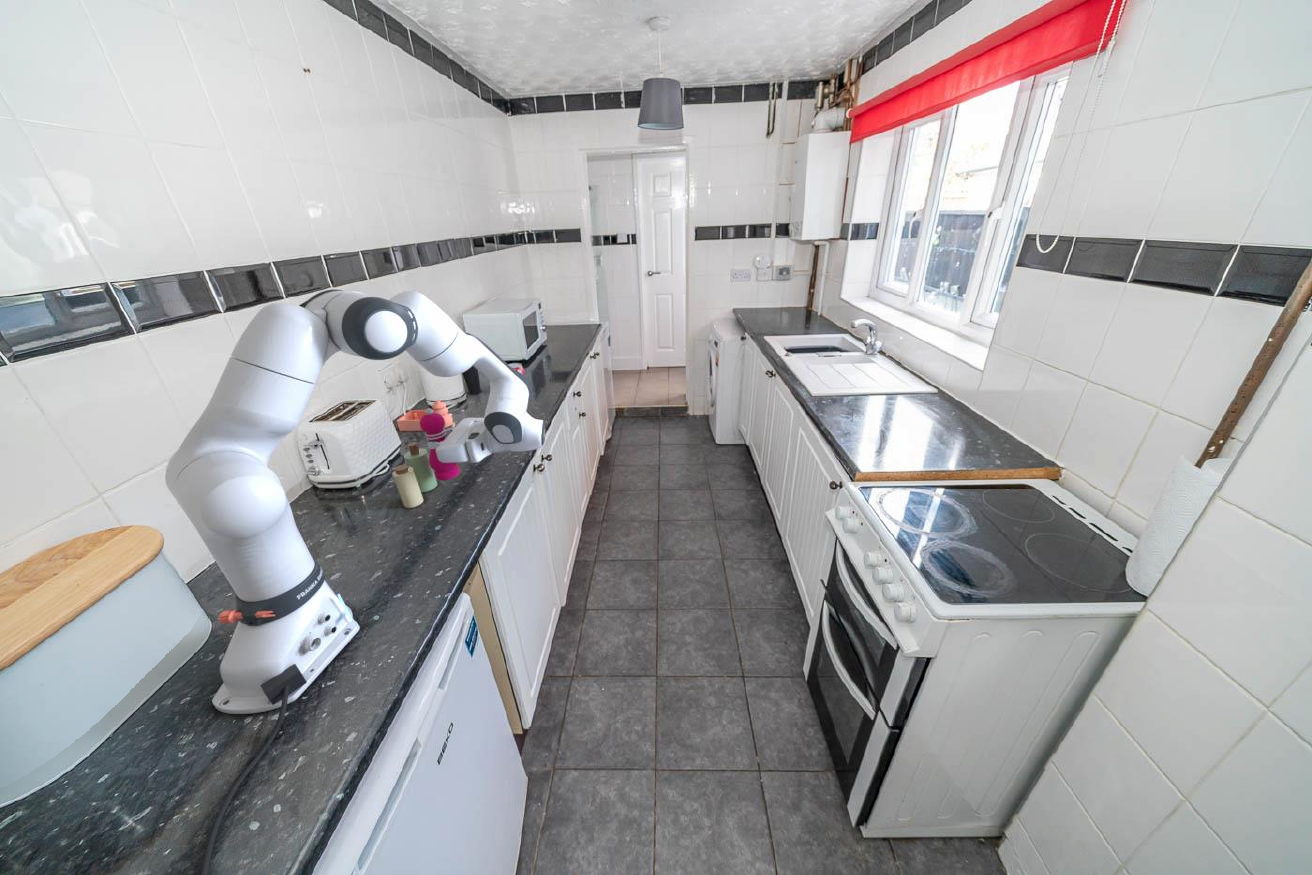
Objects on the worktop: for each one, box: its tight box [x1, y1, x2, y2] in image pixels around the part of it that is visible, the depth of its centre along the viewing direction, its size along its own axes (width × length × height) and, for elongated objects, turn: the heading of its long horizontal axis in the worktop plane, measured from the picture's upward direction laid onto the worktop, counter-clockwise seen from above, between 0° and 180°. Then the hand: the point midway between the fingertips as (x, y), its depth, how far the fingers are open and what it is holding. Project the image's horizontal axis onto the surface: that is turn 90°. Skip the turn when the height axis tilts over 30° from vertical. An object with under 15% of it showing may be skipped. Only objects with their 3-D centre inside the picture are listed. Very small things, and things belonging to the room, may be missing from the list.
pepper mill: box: [420, 407, 460, 481], centre depth 122 cm, size 7×7×20 cm
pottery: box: [396, 399, 454, 432], centre depth 169 cm, size 18×10×10 cm, turn 86°
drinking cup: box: [461, 366, 482, 395], centre depth 196 cm, size 8×8×20 cm
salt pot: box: [391, 464, 425, 509], centre depth 122 cm, size 5×5×11 cm
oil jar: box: [403, 441, 438, 493], centre depth 128 cm, size 6×6×14 cm
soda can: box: [508, 362, 526, 377], centre depth 193 cm, size 7×7×13 cm
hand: (434, 439), depth 121 cm, fingers closed on pepper mill, 5 cm apart
